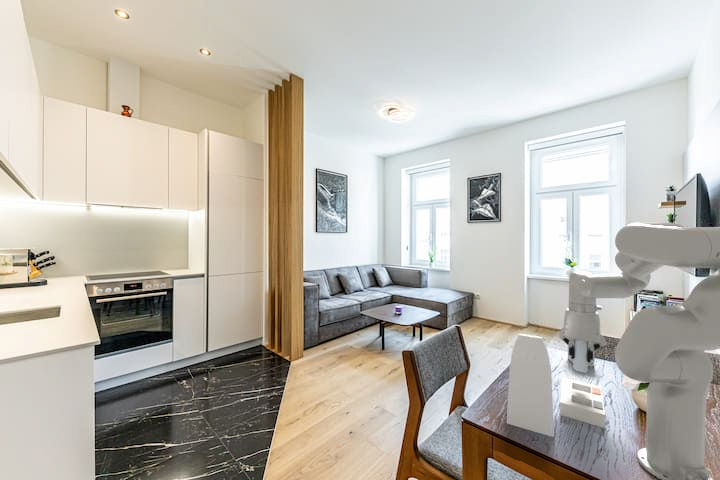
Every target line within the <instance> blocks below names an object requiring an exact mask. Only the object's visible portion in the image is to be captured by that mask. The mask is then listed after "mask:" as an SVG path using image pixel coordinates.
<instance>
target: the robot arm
mask: <svg viewBox="0 0 720 480" xmlns="http://www.w3.org/2000/svg"><path fill="white" fill-rule="evenodd" d="M614 242H615V243H614V245H615V247H616V249H617V251H618V252H617V253H616V255H615V256H614V262H615V265H616V266H617V268H618V269H619V270H620V271H621V273H619V274H595V273H594V272H590V271H584V270H583V271H580V270H578V271H577V270H576V271H571V272H570V273H569V276H568V280H569V281H568V308H567V307H566V308H565V311H564V317H563V327H562V328H561V329H560V331H558V333H557V334H556V337H558V338H559V339H561V340H562V341H564V343H565V344H566V345H567V347H568V346H569V355H571V359H574V346H573V342H574V339H575V340H583V341H586V342H588V343H589V349H588V362H589V363H590V360H593V352H594V353H595V351H596V350H597V349H600V348H601V347H606V346H607V345H608V341H606V339H605V338H604V336H603V335H602V333H601V323H600V322H601V321H600V315H599V312H598V311H602V306H601V305H597V299H626V298H630V297H632V296H634V295H636V294H638V293H640V292H642V291H644V290H645V289H647V287H648V286H649V285H650V284H649V283H650V281H651V277H652V276H651V275H652V273H654V272H655V271H657V270H659V269H660V268H663V267H664V266H667V267H673V268H680V269H681V268H683V269H716V271H714V272H713V273H711V274H710V275H708V276H707V277H705V278H704V279H703V280H701V281H700V282H698V283H697V284H696V285H695V286H694V287H693V289H692V290H691V292H690V294H688V296H687V298H686V299H685V300H684V301H683V302H682V303H680V304H676V305H652V306H648V307H645V308H642V309H640V310H638V312H636V313H635V315H634V316H633V317H632V319H631V320H630V322H629V323H628V325H627V327H626V328H625V330H624V331H623V334H622V335H621V337H620V338H619V341H618V342H617V345H616V348H615V350H614V360H615V364H616V366H617V368H618V369H619V370H620V372H621V373H622V374H623V375H624V376H626V377H627V378H629V379H631V380H633V381H638V382H641V383H649V384H648V387H647V391H646V423H645V424H646V425H645V426H646V427H645V428H646V431H645V432H646V435H645V438H646V439H645V443H646V444H645V447H644V448H640V449H639V450H638V451H637V453H636V454H637V455H636V458H637V460H638V463H639V464H640V465H641V466H642V467H643V468H644V469H645V470H646V471H647V472H649V473H650V474H651V475H653V476H654V477H655V476H656V478H657V479H659V480H660V479H661V480H714V478H713V477H712V476H711V469H710V468H708V467H706V466H705V452H706V451H705V448H706V446H705V445H706V444H705V443H706V410H707V409H706V407H707V405H706V404H707V397H708V393H709V392H708V391H709V388H710V384H711V382H712V380H713V375H714V366H713V365H714V364H713V362H712V359H711V358H710V356H709V355H708V354H707V352H708V351H716V350H719V349H720V226H713V227H712V226H704V227H703V226H697V227H696V226H695V227H694V226H693V227H692V226H691V227H689V226H687V227H686V226H684V225H681V224H679V223H674V222H633V223H628V224H626V225H625V226H622V227H621V228H620V229H619V230H618V232H617V233H616V235H615V239H614ZM568 338H569V339H568ZM593 343H594V344H593Z"/></svg>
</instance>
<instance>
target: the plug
mask: <svg viewBox="0 0 720 480" xmlns="http://www.w3.org/2000/svg"><path fill="white" fill-rule="evenodd" d="M572 364H573V365H572V366H573V370H574V371H576V372H577V371H578V372H580V373H588V371H589V367H588V342H586V341H583V340H575V339H574V360H573V363H572Z"/></svg>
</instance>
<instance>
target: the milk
mask: <svg viewBox="0 0 720 480" xmlns="http://www.w3.org/2000/svg"><path fill="white" fill-rule="evenodd" d="M510 357H511V358H510V363H509V376H508V389H507V390H508V392H507V407H506V409H507V410H506V424H507V425H509V426H510V425H511V426H514V427H517V428H521V429H525V430H527V431H528V430H529V431H531V432H535V433H539V434H541V435H545V436H547V437H548V436H549V437H552V438H555V431H554V430H555V428H554V427H555V425H554V405H553V404H554V402H553V400H554V399H553V380H552V379H553V378H552V377H553V376H552V366H551V359H550V355H549V351H548V350H547V346H546V343H545V342H544V340H543V338H542V336H537V335H530V334H524V333H518V336H517V338H516V340H515V342H514V344H513V348H512V351H511V356H510Z"/></svg>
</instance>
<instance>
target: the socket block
mask: <svg viewBox="0 0 720 480" xmlns="http://www.w3.org/2000/svg"><path fill="white" fill-rule="evenodd" d="M560 390H561V391H560V401H559V415H560V416H562V417H563V416H564V417H567V418H570V419H573V420H576V421H580V422H583V423H586V424H589V425H593V426H595V427H600V428H603V429H606V412H605V404H604V398H603V393H602V392H603V391H602V386H600V385H596V384H592V383H589V382H588V383H587V382H583V381H579V380H574V379H571V378H567V377H562V380H561V388H560Z"/></svg>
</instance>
